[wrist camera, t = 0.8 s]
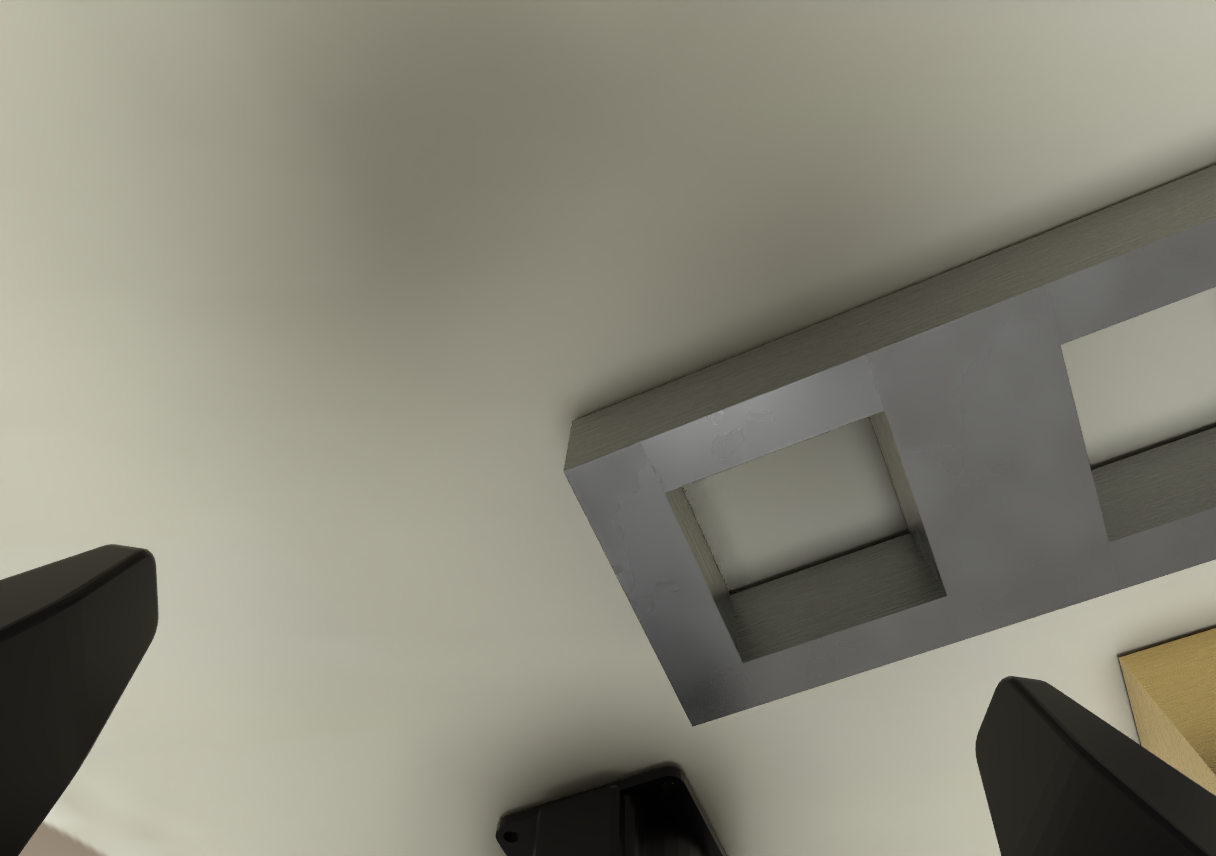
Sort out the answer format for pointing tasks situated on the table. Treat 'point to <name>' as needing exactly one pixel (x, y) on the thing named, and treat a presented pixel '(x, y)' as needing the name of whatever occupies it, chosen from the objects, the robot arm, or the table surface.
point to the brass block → (1177, 703)
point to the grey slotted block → (915, 463)
